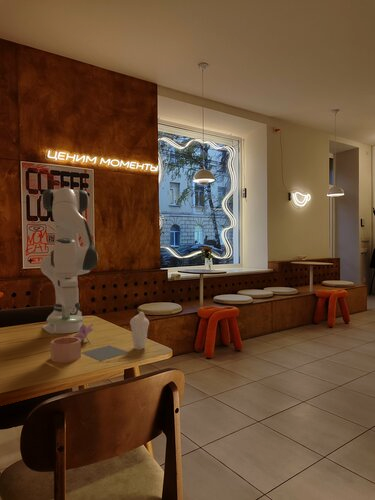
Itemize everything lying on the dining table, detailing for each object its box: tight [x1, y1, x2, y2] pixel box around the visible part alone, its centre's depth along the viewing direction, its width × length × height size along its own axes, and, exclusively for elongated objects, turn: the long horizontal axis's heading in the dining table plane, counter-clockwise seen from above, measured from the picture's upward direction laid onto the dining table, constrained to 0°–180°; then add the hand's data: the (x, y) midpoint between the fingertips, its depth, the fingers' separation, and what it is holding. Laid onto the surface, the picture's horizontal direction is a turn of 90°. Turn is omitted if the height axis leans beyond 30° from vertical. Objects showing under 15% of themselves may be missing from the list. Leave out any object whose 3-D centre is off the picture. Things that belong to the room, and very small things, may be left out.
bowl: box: [50, 336, 82, 364], centre depth 140 cm, size 11×11×7 cm
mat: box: [81, 344, 130, 362], centre depth 146 cm, size 14×14×1 cm
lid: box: [47, 308, 84, 325], centre depth 139 cm, size 13×13×5 cm
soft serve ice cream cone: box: [129, 311, 150, 350], centre depth 153 cm, size 8×8×16 cm
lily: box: [72, 323, 94, 345], centre depth 158 cm, size 12×12×10 cm
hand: (65, 315), depth 139 cm, fingers closed on lid, 3 cm apart
